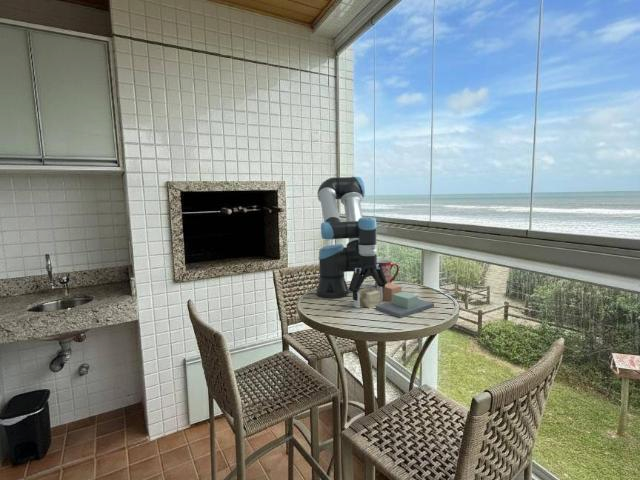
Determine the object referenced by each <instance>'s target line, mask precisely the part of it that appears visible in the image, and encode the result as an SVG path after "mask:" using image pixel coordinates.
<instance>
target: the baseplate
mask: <svg viewBox="0 0 640 480" xmlns="http://www.w3.org/2000/svg"><path fill="white" fill-rule="evenodd" d="M434 307H435V302H434V303H433V302H432V301H426V300H424V299H420V298H419V296H418V295H417V294H413V293H409V292H406V291H401V292H399V293H395V294H392V301H391V302H390V301H387V302H384V303H382V304H381V303H380V305H377V306H376V307H375V310H377V311H380V312H382V313H385V314H388V315H391V316H393V317H396V318H399V319H401V318H405V317H407V316H412V315H413V314H417V313H420V312H423V311H426V310H428V309H433V308H434Z"/></svg>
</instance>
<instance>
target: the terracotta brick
mask: <svg viewBox="0 0 640 480" xmlns="http://www.w3.org/2000/svg"><path fill="white" fill-rule="evenodd" d="M399 292H402V286H401V285H398V284H394V283H387V284H385V287H383V300H384V301H387V302H391V301H392V294H395V293H399Z"/></svg>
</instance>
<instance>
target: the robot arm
mask: <svg viewBox="0 0 640 480" xmlns="http://www.w3.org/2000/svg"><path fill="white" fill-rule="evenodd" d="M364 184H365V183H364V181H363V179H362V178H361V177H360V176H348V177H346V176H344V177H342V176H340V177H335V176H334V177H330V178H327V179H326V180H324V181H323V182H322V183H321V184H320V185H319V187H318V189H317V200H318V201H319V202H320V205H321V211H322V218H323V222H321V224H320V234H321V235H320V236H321V239H323V240H339V239H340V240H341V239H343V240H344V239H348V242H347V243H346V245H345V246H346V247H344V244H341V243H338V244H337V243H336V244H329V245H325V246H323V247H321V248H320V249H319V251H318V260H319V262H318V263H319V280H318V283H317V284H318V285H317V287H316V296H317V297H321V298H324V299H338V298H344V297H346V296H348V295H349V292H351V293H352V300H353V308H356V309H360V307H361V305H360V293H359V292H358V291H359V290H361V287H362V285H363V283H364V281H365V280H366V279H367V278H369V277H372V278H373V280H374V282H375V281H376V283H377V284H378V285H379V286H377V288H376V291H379V292H380V303H383V302H384V301H383V300H384V299H383V287H385V284H387V281H386V279H385V276H384V273H383V271H382V265H381V264H376V263H377V260H378V255H377V253H378V252H377V251H378V250H377V247H378V246H377V245H378V244H377V241H378V240H377V239H378V238H377V234H378V233H377V227H378V225H377V219H376V217H373V216H372V217H371V216H370V217H369V216H367V217H363V210H362V205H361V202H362V201H363V199H364V197H365V195H366V193H365V192H366V190H365V185H364ZM337 200H340V203H341V204H342V205H343V206H344V207H343V208H344V216H345V221H341V217H340V214H339V209H338V204H337ZM375 270H376V271H377V272H376V271H375ZM347 272H348V273H350V272H353V274H352V277H351V281H350V284H349V287H348V284H347V282H346V278H345V273H347ZM377 273H378V274H377Z"/></svg>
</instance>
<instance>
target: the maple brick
mask: <svg viewBox="0 0 640 480" xmlns="http://www.w3.org/2000/svg"><path fill="white" fill-rule="evenodd" d="M358 292H359V293H360V306H362V307H364V308H367V309H372V308H376V306H377V305H380V304H381V302H380V292H379V291H377V289H376V290H375V289H372V288H369V287H366V288H365V287H364V288H362V289H361V288H360V289H359V291H358Z"/></svg>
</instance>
